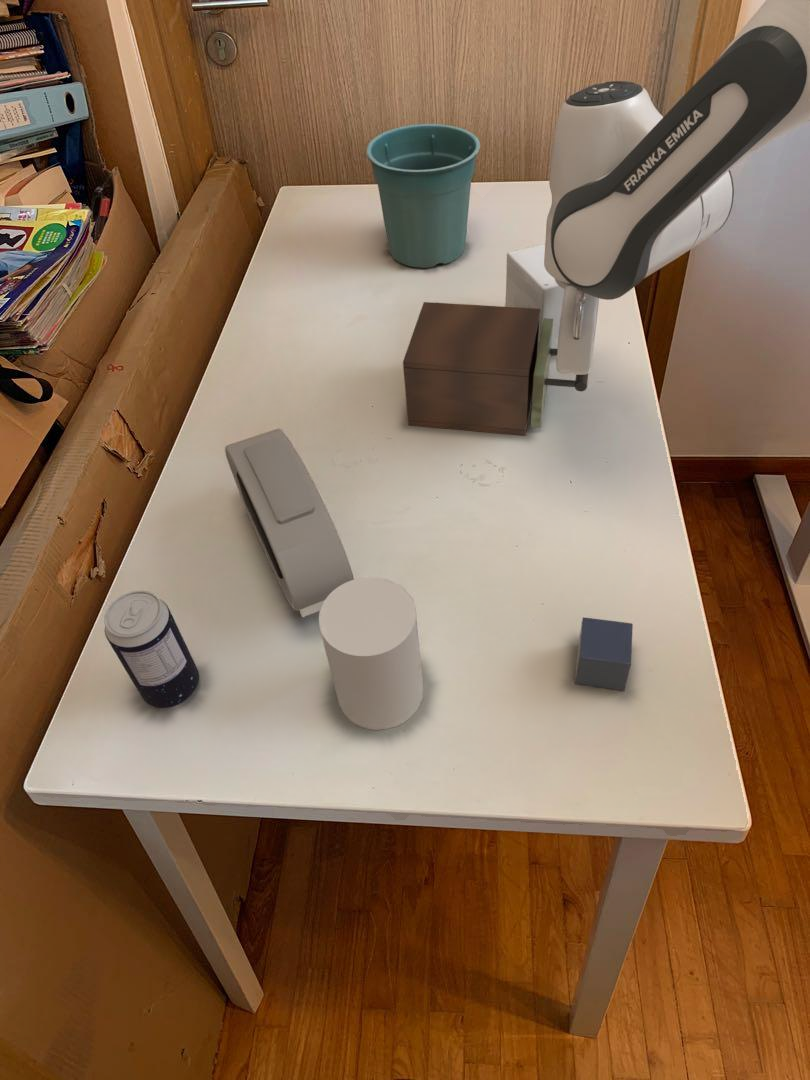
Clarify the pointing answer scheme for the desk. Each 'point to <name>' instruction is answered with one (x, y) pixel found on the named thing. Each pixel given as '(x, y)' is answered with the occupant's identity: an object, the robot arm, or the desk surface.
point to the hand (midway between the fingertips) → (575, 358)
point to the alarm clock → (289, 519)
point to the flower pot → (424, 190)
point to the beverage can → (151, 648)
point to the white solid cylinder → (373, 651)
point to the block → (604, 654)
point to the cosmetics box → (534, 287)
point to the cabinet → (472, 367)
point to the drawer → (543, 373)
